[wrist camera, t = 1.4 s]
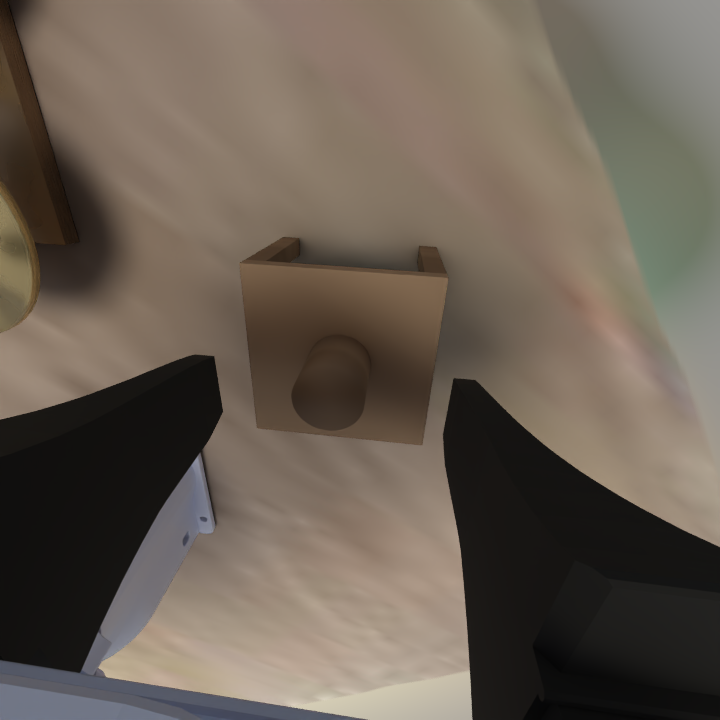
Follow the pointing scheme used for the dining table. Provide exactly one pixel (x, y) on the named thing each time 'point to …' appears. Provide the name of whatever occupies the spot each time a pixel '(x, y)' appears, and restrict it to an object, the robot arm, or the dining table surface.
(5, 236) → the balance
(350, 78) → the dining table surface
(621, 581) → the robot arm
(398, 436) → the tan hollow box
